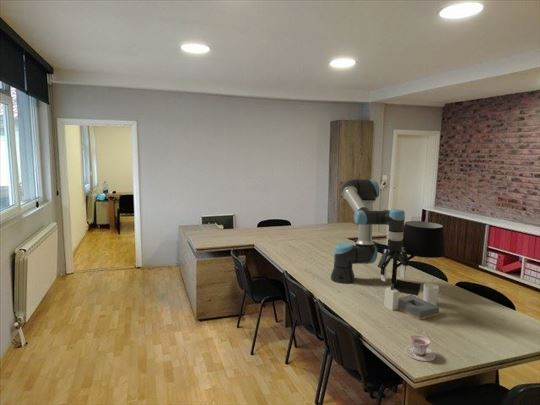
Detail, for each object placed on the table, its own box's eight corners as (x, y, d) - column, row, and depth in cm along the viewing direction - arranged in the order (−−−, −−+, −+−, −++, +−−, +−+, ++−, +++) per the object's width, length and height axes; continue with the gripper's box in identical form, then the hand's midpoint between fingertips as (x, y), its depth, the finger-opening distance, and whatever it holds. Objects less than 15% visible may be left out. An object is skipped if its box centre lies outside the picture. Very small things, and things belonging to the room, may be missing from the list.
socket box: (392, 306, 199) (392, 298, 198) (410, 301, 205) (411, 294, 204) (419, 319, 183) (420, 312, 182) (438, 314, 189) (439, 307, 189)
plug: (383, 306, 199) (385, 282, 197) (389, 304, 200) (390, 281, 199) (392, 310, 193) (393, 286, 192) (397, 309, 195) (399, 285, 193)
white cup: (424, 299, 209) (426, 282, 208) (439, 303, 204) (441, 285, 203) (420, 303, 203) (421, 286, 201) (435, 307, 198) (436, 289, 197)
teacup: (403, 344, 159) (404, 330, 159) (433, 349, 156) (434, 335, 155) (404, 358, 148) (406, 344, 147) (437, 364, 145) (438, 349, 144)
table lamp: (395, 278, 243) (399, 218, 237) (442, 286, 230) (447, 223, 225) (389, 291, 220) (393, 225, 214) (441, 300, 208) (447, 230, 202)
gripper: (382, 243, 183) (380, 284, 185) (418, 238, 194) (415, 277, 197) (372, 239, 189) (369, 279, 192) (407, 235, 201) (404, 273, 203)
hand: (392, 278), depth 194 cm, fingers open, 13 cm apart
